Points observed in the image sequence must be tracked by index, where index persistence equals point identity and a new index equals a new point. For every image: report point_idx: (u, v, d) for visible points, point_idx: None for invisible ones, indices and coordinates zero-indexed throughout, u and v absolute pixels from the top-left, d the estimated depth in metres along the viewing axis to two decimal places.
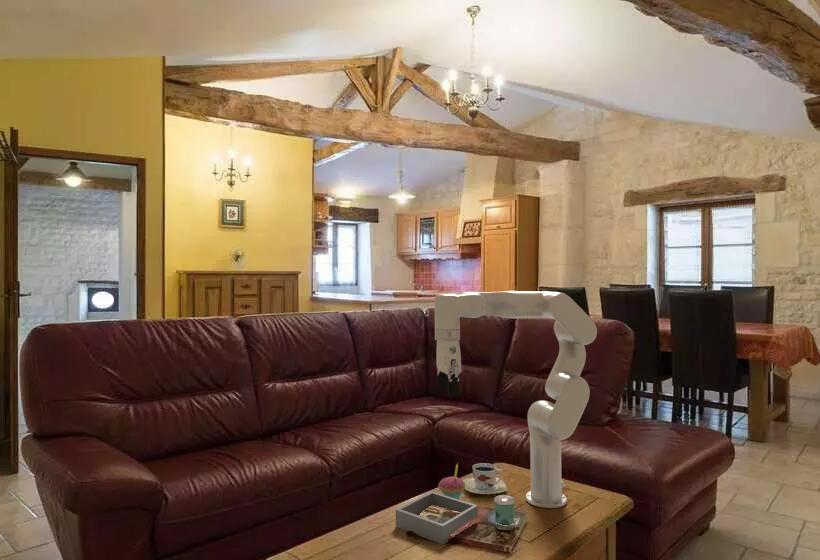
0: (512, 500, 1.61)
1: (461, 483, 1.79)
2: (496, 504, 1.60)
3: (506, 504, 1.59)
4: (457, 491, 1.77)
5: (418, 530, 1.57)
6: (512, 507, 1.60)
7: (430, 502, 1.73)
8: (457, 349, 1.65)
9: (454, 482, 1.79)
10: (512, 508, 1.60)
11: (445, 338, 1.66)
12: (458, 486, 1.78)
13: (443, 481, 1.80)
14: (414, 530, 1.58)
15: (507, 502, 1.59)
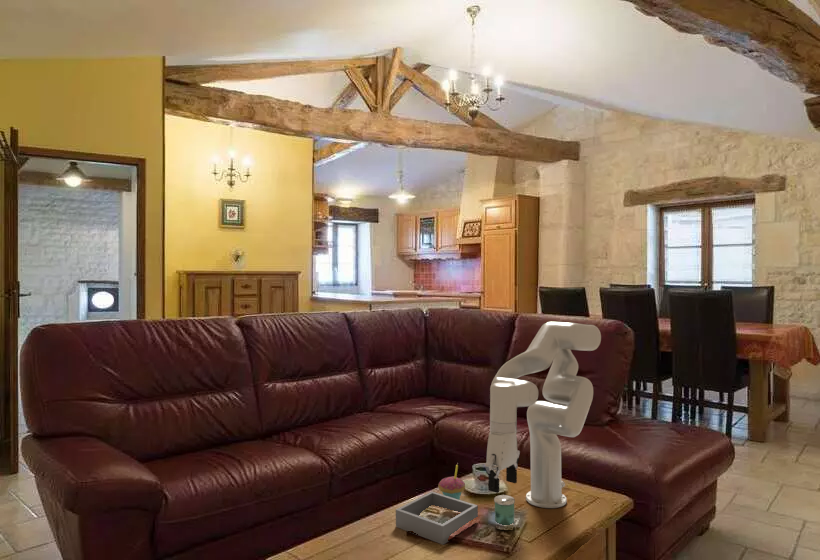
0: (512, 500, 1.61)
1: (461, 483, 1.79)
2: (496, 504, 1.60)
3: (506, 504, 1.59)
4: (457, 491, 1.77)
5: (418, 530, 1.57)
6: (512, 507, 1.60)
7: (430, 502, 1.73)
8: None
9: (454, 482, 1.79)
10: (512, 508, 1.60)
11: None
12: (458, 486, 1.78)
13: (443, 481, 1.80)
14: (414, 530, 1.58)
15: (507, 502, 1.59)
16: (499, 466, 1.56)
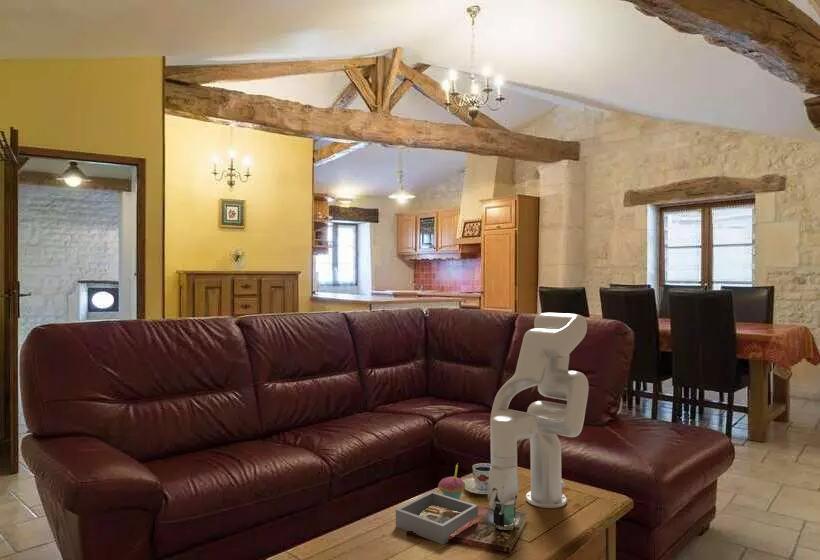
0: (512, 500, 1.61)
1: (461, 483, 1.79)
2: None
3: (506, 504, 1.59)
4: (457, 491, 1.77)
5: (418, 530, 1.57)
6: (512, 507, 1.60)
7: (430, 502, 1.73)
8: None
9: (454, 482, 1.79)
10: (512, 508, 1.60)
11: None
12: (458, 486, 1.78)
13: (443, 481, 1.80)
14: (414, 530, 1.58)
15: (507, 502, 1.59)
16: (500, 501, 1.57)
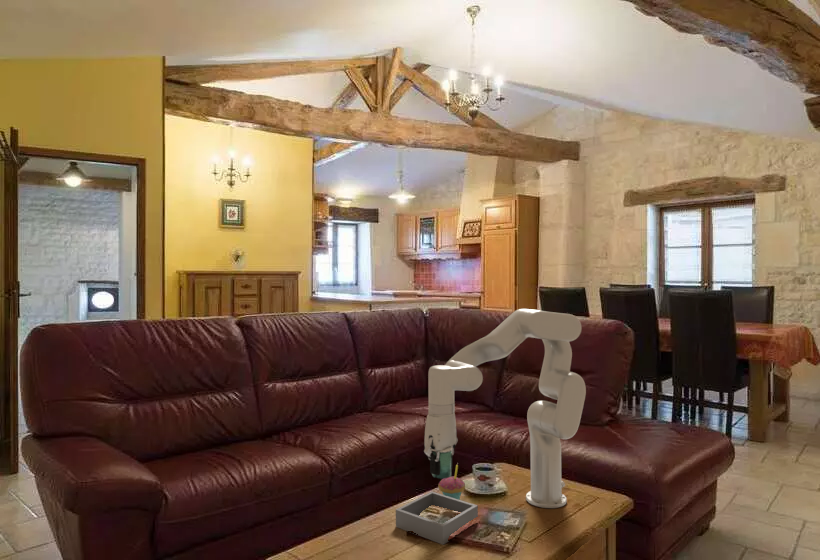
0: (449, 448, 1.62)
1: (461, 483, 1.79)
2: None
3: (442, 451, 1.60)
4: (457, 491, 1.77)
5: (418, 530, 1.57)
6: (448, 454, 1.61)
7: (430, 502, 1.73)
8: None
9: (454, 482, 1.79)
10: (449, 456, 1.61)
11: None
12: (458, 486, 1.78)
13: (443, 481, 1.80)
14: (414, 530, 1.58)
15: (443, 450, 1.61)
16: (436, 447, 1.58)
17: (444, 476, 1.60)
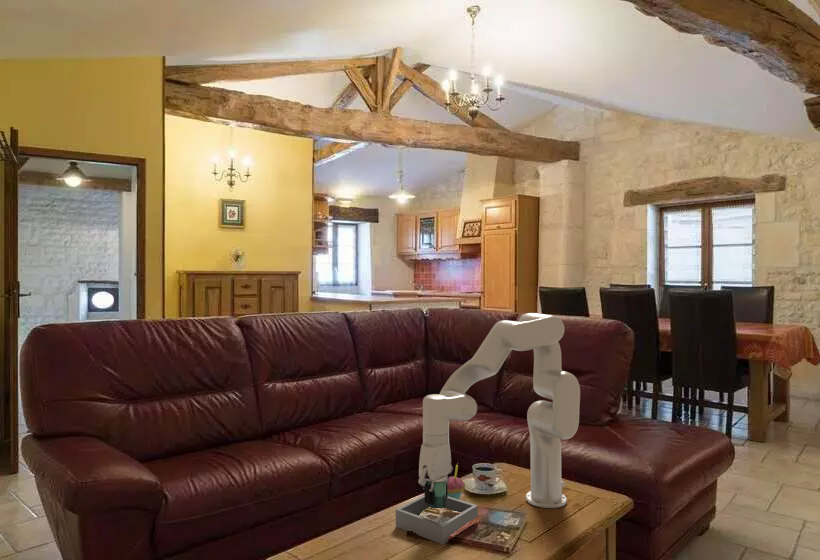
0: (443, 477, 1.62)
1: (461, 483, 1.79)
2: None
3: (437, 481, 1.60)
4: (457, 491, 1.77)
5: (418, 530, 1.57)
6: (443, 484, 1.61)
7: None
8: None
9: (454, 482, 1.79)
10: (443, 486, 1.62)
11: None
12: (458, 486, 1.78)
13: None
14: (414, 530, 1.58)
15: (438, 479, 1.61)
16: (430, 477, 1.58)
17: (438, 506, 1.61)
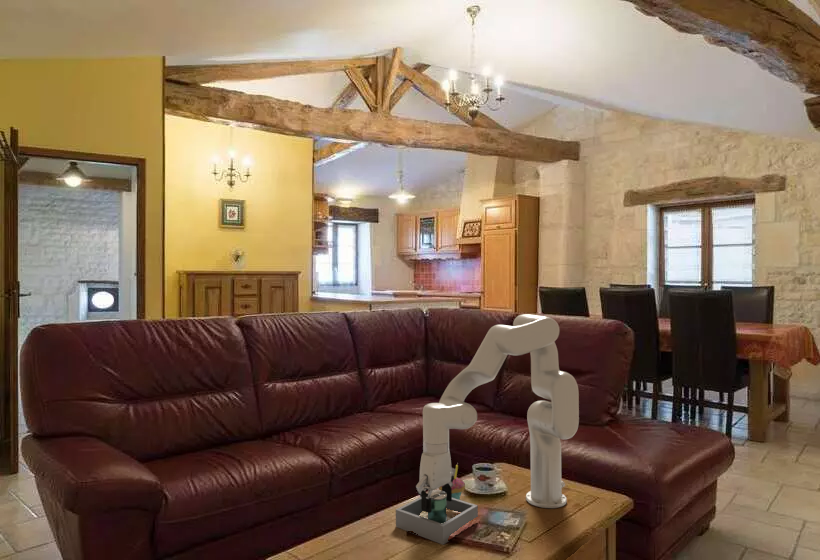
0: (444, 495, 1.62)
1: (461, 483, 1.79)
2: None
3: (437, 499, 1.60)
4: (457, 491, 1.77)
5: (418, 530, 1.57)
6: (443, 501, 1.61)
7: None
8: None
9: (454, 482, 1.79)
10: (444, 503, 1.62)
11: None
12: (458, 486, 1.78)
13: None
14: (414, 530, 1.58)
15: (438, 497, 1.61)
16: (431, 486, 1.59)
17: None
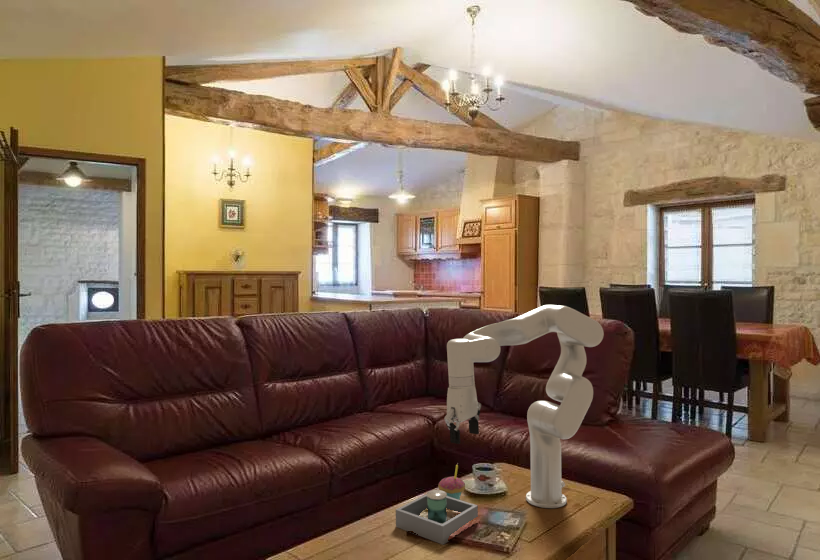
0: (444, 495, 1.62)
1: (461, 483, 1.79)
2: (428, 499, 1.62)
3: (437, 499, 1.60)
4: (457, 491, 1.77)
5: (418, 530, 1.57)
6: (443, 501, 1.61)
7: None
8: None
9: (454, 482, 1.79)
10: (444, 503, 1.62)
11: None
12: (458, 486, 1.78)
13: (443, 481, 1.80)
14: (414, 530, 1.58)
15: (438, 497, 1.61)
16: (458, 418, 1.62)
17: None
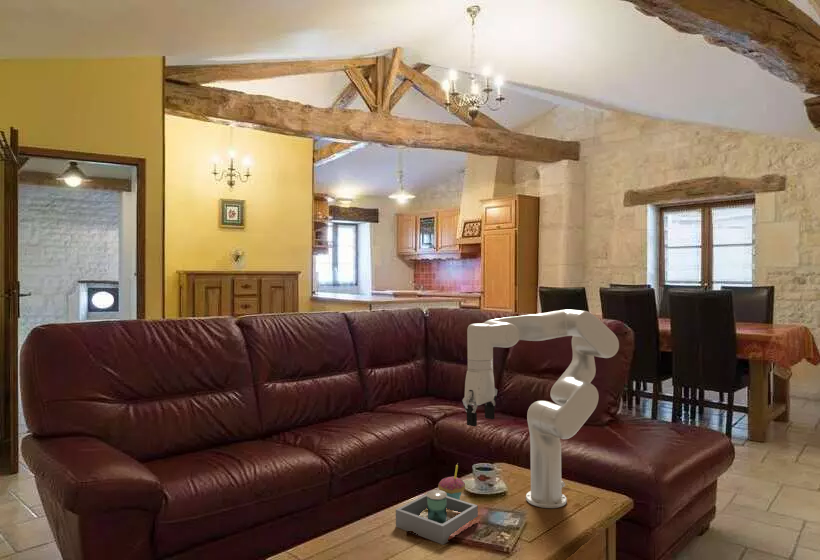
0: (444, 495, 1.62)
1: (461, 483, 1.79)
2: (428, 499, 1.62)
3: (437, 499, 1.60)
4: (457, 491, 1.77)
5: (418, 530, 1.57)
6: (443, 501, 1.61)
7: None
8: None
9: (454, 482, 1.79)
10: (444, 503, 1.62)
11: None
12: (458, 486, 1.78)
13: (443, 481, 1.80)
14: (414, 530, 1.58)
15: (438, 497, 1.61)
16: (476, 401, 1.64)
17: None
